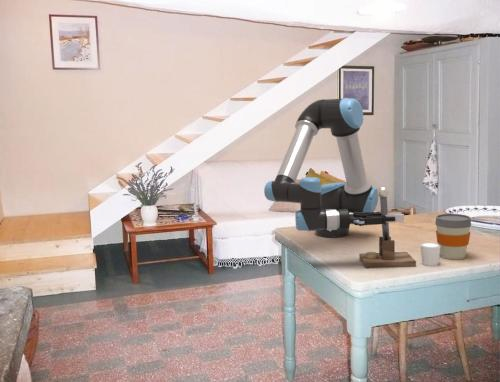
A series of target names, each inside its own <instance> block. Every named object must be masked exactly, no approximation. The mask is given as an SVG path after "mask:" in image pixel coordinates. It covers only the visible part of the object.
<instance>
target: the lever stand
mask: <svg viewBox="0 0 500 382" xmlns="http://www.w3.org/2000/svg"><path fill="white" fill-rule="evenodd" d="M389 238H390V240H383V235H382V236H378V252H376V251H367V252H366V253H362V252H361V253H359V256H358V257H359V261H360V262H361V263H362V265H363V267H364V268H365V269H382V268H384V269H385V268H386V269H387V268H409V267H410V268H411V267H412V268H413V267H417V261H416V260H415V259H414V258H413V256H412V255H411V254H409V252H408V251H398V252H397V251H396V252H395V250H396V249H395V247H396V246H395V243H396V242H395V240H394V239H392V237H391V236H390V235H389ZM381 245H382V246H381Z"/></svg>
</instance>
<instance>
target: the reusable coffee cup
mask: <svg viewBox="0 0 500 382" xmlns="http://www.w3.org/2000/svg"><path fill="white" fill-rule="evenodd" d="M471 218H472V217H471V216H470V215H466V214H461V213H443V214H438V215H436V218H435V225H436V231H435V235H436V242H437V243H436V244H439V245H440V253H439V257H441V258H443V259H447V260H462V259H465V258H466V253H467V248H468V245H469V243H470V238H471V237H470V236H471V232H470V230H471V226H472V220H471Z"/></svg>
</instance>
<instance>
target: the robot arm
mask: <svg viewBox="0 0 500 382" xmlns="http://www.w3.org/2000/svg"><path fill="white" fill-rule="evenodd" d="M363 111H364V110H363V107H362V105H361V103H360V101H358V100H357V99H355V98H348V97H344V98H330V99H329V98H327V99H318V100H315V101H313V102H311V103H310V104H308V106H307V107H306V108H304V110H302V112H301V113H300V115H299V117H297V120H296V122H295V125H294V127H295V132H294V133H293V136H292V138H291V141H290V143H289V145H288V148H287V150H286V153H285V155H284V157H283V159H282V162H281V163H280V164H281V165H280V167H279V169H278V172H277V175H276V177H275V179H274V180H271V181H270V180H269V181H268V182H266V184H265V185H264V189H263V192H264V193H263V194H264V196H265V198H266V200H268V201H271V202H277V203H279V202H280V203H294V204H300V209H299V210H295V213H294V214H295V216H294V217H295V227H296V230H297V231H299V232H302V231H307V232H314V231H315V234H316V235H317V236H318V237H324V238H342V237H345V236H348V235H350V225H351V224H352V225H354V226H359V227H364V226H377V225H382V224H384V225H386V223H404V222H405V214H404V213H402V212H388V215H385V216H381V211H376V208H377V206H378V202H379V195H378V193H377V191H378V189H379V188H377V187H374V186H372V182H371V180H369V179H368V178H367V174H366V169H365V166H364V165H365V164H364V160H363V159H364V158H363V155H362V150H361V144H360V141H359V136H358V132H359V131H360V130H361V127H362V125H363V123H364V112H363ZM322 129H329V130H330V133H331V136H332V137H335V138H336V143H337V146H338V152H339V155H340V160H341V164H342V165H341V166H342V168H343V173H344V177H345V182H346V183H345V182H342V181H339V182H331V183H325V184H321V180H320V178H319V177H313V176H311V177H309V176H307V177H302V178H300V179H299V182H297V179H298V177H299V176H298V175H299V173H300V171H301V169H302V166H303V163H304V161H305V158H306V156H307V153H308V151H309V149H310V146H311V143H312V141H313V139H314V137H315V136H316V135H318V134H319V130H322Z"/></svg>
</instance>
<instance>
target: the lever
mask: <svg viewBox="0 0 500 382" xmlns="http://www.w3.org/2000/svg"><path fill="white" fill-rule="evenodd" d="M377 189H378V191H377V193H378V198H379V201H380V203H379V204H380V205H379V206H380V213H381V216H385V215H388V213H389V211H388V196H389V193H390V192H389V189H388V187H386V186H380V187H379V188H377ZM389 223H390V222H388V223H386V225H384V224H381V232H382V236H383V240H390V238H389V236H390V228H389V226H390V224H389ZM381 246H382V245H381Z"/></svg>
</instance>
